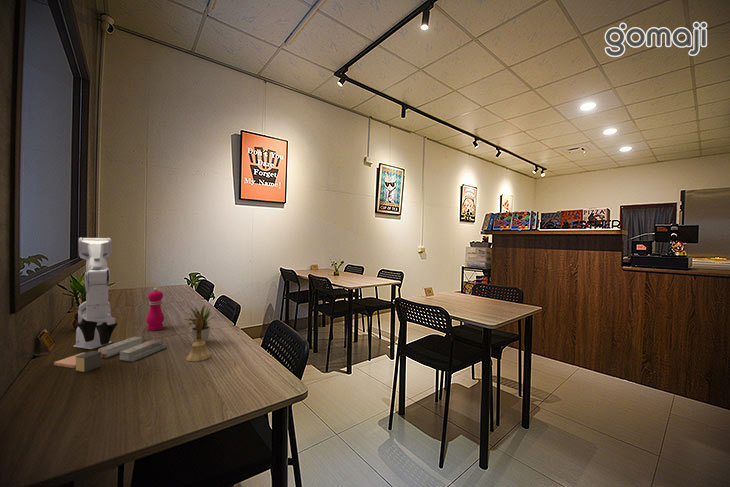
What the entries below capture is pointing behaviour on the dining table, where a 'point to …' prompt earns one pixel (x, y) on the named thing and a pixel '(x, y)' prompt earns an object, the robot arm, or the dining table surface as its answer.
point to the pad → (68, 361)
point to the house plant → (205, 328)
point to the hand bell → (198, 344)
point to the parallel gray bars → (132, 348)
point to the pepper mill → (155, 311)
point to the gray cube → (88, 361)
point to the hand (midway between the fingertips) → (97, 342)
